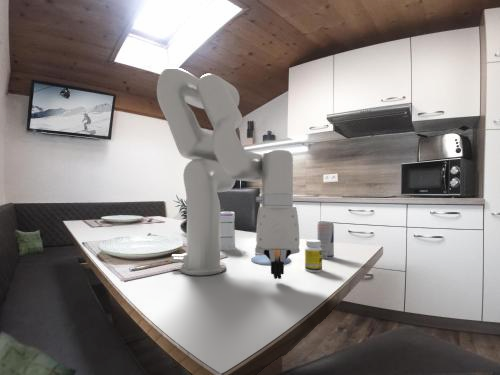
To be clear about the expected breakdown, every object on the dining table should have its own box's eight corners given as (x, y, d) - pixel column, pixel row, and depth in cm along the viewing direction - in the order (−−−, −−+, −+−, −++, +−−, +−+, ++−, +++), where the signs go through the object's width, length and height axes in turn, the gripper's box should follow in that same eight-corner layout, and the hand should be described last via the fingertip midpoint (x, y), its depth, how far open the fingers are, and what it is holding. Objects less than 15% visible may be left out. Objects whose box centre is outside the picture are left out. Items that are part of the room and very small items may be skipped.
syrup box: (234, 250, 99) (234, 212, 100) (218, 250, 99) (218, 212, 100) (235, 247, 105) (235, 211, 105) (220, 247, 105) (220, 211, 105)
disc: (250, 265, 79) (250, 264, 79) (251, 255, 92) (251, 254, 92) (293, 265, 78) (293, 264, 78) (288, 255, 91) (288, 254, 91)
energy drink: (335, 256, 90) (335, 222, 90) (331, 260, 85) (331, 223, 85) (320, 254, 92) (320, 221, 93) (315, 258, 88) (315, 222, 88)
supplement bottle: (322, 273, 71) (322, 242, 71) (305, 272, 72) (305, 241, 72) (321, 268, 76) (321, 239, 76) (304, 267, 77) (304, 238, 77)
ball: (268, 239, 86) (268, 250, 89) (266, 251, 82) (266, 263, 84) (284, 240, 85) (284, 252, 88) (284, 252, 81) (283, 264, 84)
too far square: (255, 254, 92) (255, 254, 92) (255, 248, 102) (255, 248, 102) (283, 255, 92) (283, 254, 92) (280, 249, 102) (280, 248, 102)
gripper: (246, 201, 60) (246, 282, 59) (311, 202, 60) (311, 282, 59) (247, 200, 67) (246, 272, 67) (304, 201, 67) (304, 272, 67)
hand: (277, 276), depth 63 cm, fingers closed
